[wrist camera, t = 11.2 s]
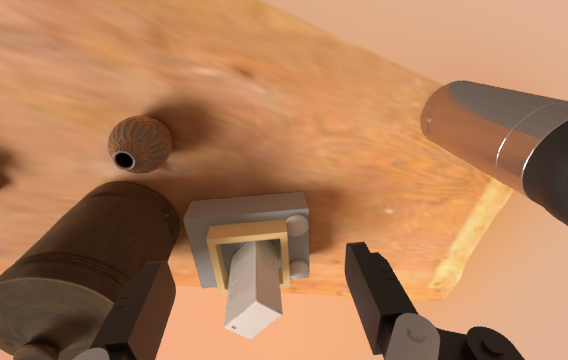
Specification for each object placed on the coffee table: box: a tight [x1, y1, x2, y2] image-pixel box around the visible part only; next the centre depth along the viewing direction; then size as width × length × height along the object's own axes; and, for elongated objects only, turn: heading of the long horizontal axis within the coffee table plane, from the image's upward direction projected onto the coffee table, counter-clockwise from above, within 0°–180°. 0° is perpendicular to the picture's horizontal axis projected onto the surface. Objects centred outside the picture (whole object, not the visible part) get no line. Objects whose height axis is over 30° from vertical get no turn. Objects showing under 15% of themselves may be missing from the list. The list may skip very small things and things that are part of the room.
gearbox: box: [183, 191, 309, 295], centre depth 43 cm, size 18×14×8 cm
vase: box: [108, 116, 172, 173], centre depth 33 cm, size 7×7×9 cm
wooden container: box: [0, 182, 179, 360], centre depth 34 cm, size 15×15×22 cm
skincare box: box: [224, 240, 283, 339], centre depth 36 cm, size 6×4×12 cm
